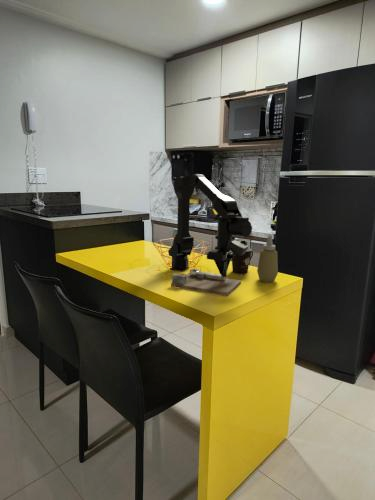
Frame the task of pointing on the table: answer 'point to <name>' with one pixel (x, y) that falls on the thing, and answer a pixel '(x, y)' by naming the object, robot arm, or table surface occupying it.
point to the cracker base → (205, 284)
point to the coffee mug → (241, 262)
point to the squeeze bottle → (268, 262)
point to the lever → (208, 274)
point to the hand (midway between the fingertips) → (223, 273)
